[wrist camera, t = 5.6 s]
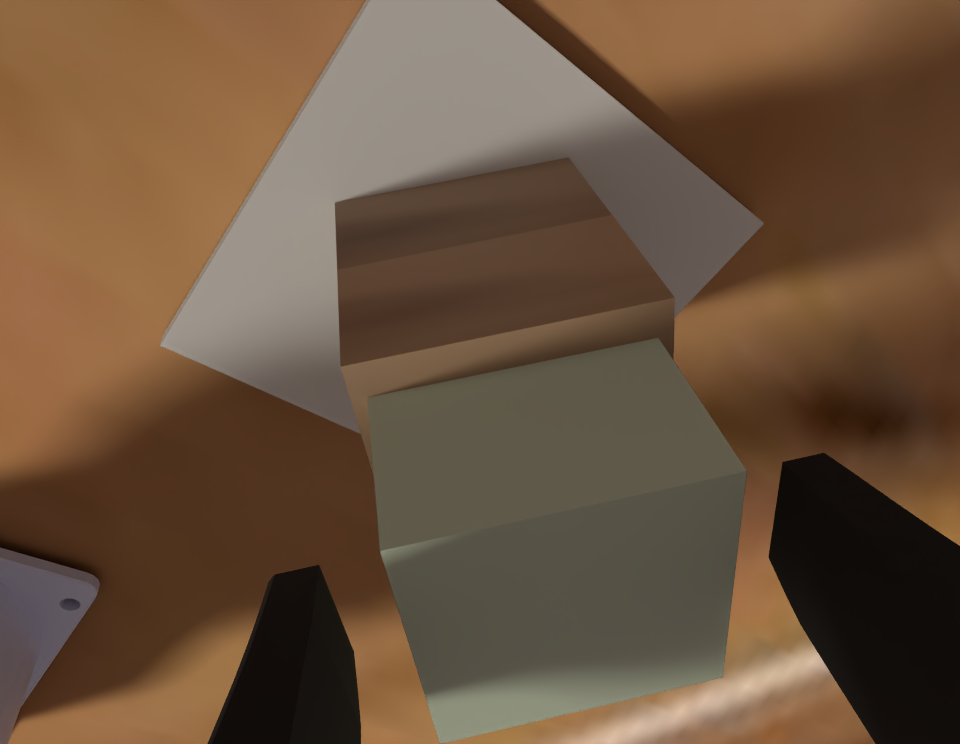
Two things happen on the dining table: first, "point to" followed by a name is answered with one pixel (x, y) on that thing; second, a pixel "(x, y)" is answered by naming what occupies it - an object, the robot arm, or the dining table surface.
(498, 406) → the pale green cube
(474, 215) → the tower base
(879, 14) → the dining table surface
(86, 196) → the dining table surface
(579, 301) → the tower top
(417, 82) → the felt mat
